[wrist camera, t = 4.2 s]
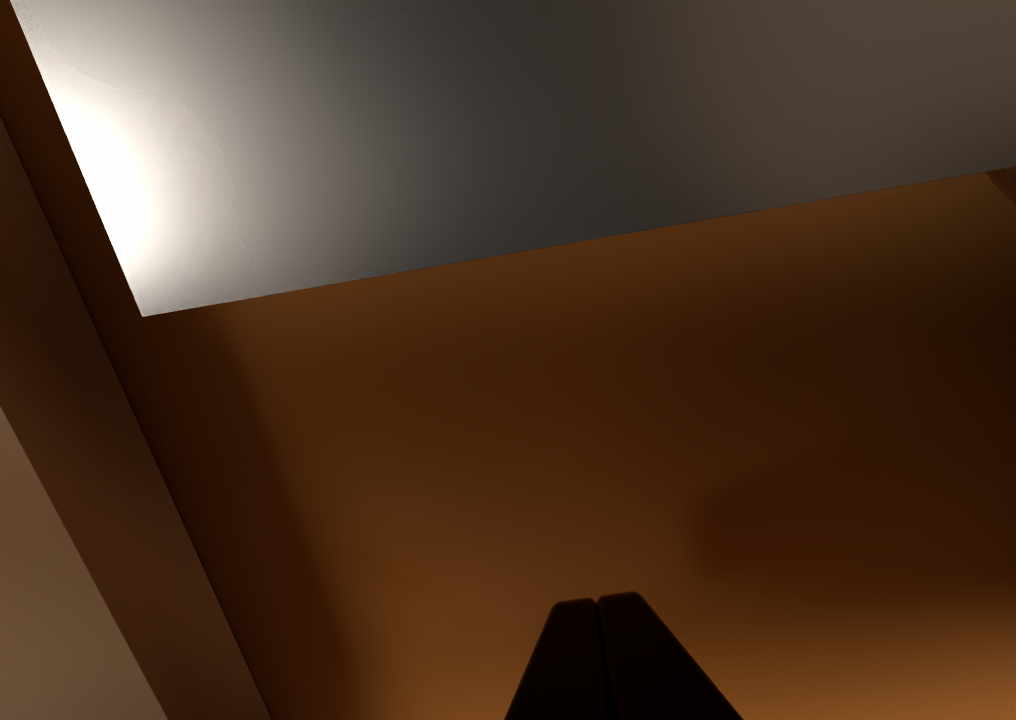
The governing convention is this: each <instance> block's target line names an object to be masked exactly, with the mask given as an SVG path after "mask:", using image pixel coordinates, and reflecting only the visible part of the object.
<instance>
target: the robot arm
mask: <svg viewBox="0 0 1016 720" xmlns="http://www.w3.org/2000/svg"><path fill="white" fill-rule="evenodd" d="M597 608H598V609H597ZM504 720H743V718H742V717H741V716H740V715H739V713H738V712H737V711H736V710H735V709H734V707H733V706H732V705H731V704H730V703H729V701H728V700H727V699H726V698H725V696H724V695H723V694H722V693H721V692H720V690H719V689H718V688H717V687H716V686H715V684H714V683H713V682H712V681H711V679H710V678H709V677H708V676H707V675H706V673H705V672H704V671H703V670H702V668H701V667H700V666H699V665H698V664H697V662H696V661H695V660H694V659H693V658H692V656H691V655H690V654H689V653H688V651H687V650H686V649H685V648H684V647H683V645H682V644H681V643H680V642H679V641H678V639H677V638H676V637H675V636H674V634H673V633H672V632H671V631H670V630H669V628H668V627H667V626H666V625H665V624H664V622H663V621H662V620H661V619H660V617H659V616H658V615H657V614H656V613H655V611H654V610H653V609H652V608H651V607H650V605H649V604H648V603H647V602H646V600H645V599H644V598H643V597H642V596H641V595H640V594H639V593H637V592H634V591H631V592H624V593H617V594H610V595H603V596H601V597H600V598H598V601H597V604H596V602H595V601H594V599H592V598H581V599H574V600H567V601H560V602H557V603H556V604H554V605H553V607H552V609H551V611H550V613H549V615H548V618H547V620H546V622H545V625H544V627H543V629H542V632H541V634H540V636H539V639H538V641H537V643H536V646H535V648H534V650H533V653H532V655H531V657H530V660H529V662H528V665H527V667H526V669H525V672H524V674H523V676H522V679H521V681H520V683H519V686H518V688H517V690H516V693H515V695H514V697H513V700H512V702H511V704H510V707H509V709H508V711H507V714H506V716H505V718H504Z"/></svg>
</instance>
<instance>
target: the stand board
mask: <svg viewBox="0 0 1016 720" xmlns="http://www.w3.org/2000/svg"><path fill="white" fill-rule="evenodd" d="M0 720H271V718H270V715H269V713H268V711H267V709H266V707H265V704H264V702H263V700H262V698H261V695H260V693H259V691H258V689H257V686H256V684H255V682H254V680H253V678H252V675H251V673H250V671H249V669H248V666H247V664H246V662H245V660H244V658H243V655H242V653H241V651H240V649H239V646H238V644H237V642H236V640H235V638H234V635H233V633H232V631H231V629H230V626H229V624H228V622H227V620H226V618H225V615H224V613H223V611H222V609H221V606H220V604H219V602H218V600H217V598H216V595H215V593H214V591H213V589H212V586H211V584H210V582H209V580H208V577H207V575H206V573H205V571H204V569H203V566H202V564H201V562H200V560H199V557H198V555H197V553H196V551H195V549H194V546H193V544H192V542H191V540H190V537H189V535H188V533H187V531H186V529H185V526H184V524H183V522H182V520H181V517H180V515H179V513H178V511H177V509H176V506H175V504H174V502H173V500H172V497H171V495H170V493H169V491H168V488H167V486H166V484H165V482H164V480H163V477H162V475H161V473H160V471H159V468H158V466H157V464H156V462H155V460H154V457H153V455H152V453H151V451H150V448H149V446H148V444H147V442H146V440H145V437H144V435H143V433H142V431H141V428H140V426H139V424H138V422H137V420H136V417H135V415H134V413H133V411H132V408H131V406H130V404H129V402H128V400H127V397H126V395H125V393H124V391H123V388H122V386H121V384H120V382H119V379H118V377H117V375H116V373H115V371H114V368H113V366H112V364H111V362H110V359H109V357H108V355H107V353H106V351H105V348H104V346H103V344H102V342H101V339H100V337H99V335H98V333H97V331H96V328H95V326H94V324H93V322H92V319H91V317H90V315H89V313H88V311H87V308H86V306H85V304H84V302H83V299H82V297H81V295H80V293H79V290H78V288H77V286H76V284H75V282H74V279H73V277H72V275H71V273H70V270H69V268H68V266H67V264H66V262H65V259H64V257H63V255H62V253H61V250H60V248H59V246H58V244H57V242H56V239H55V237H54V235H53V233H52V230H51V228H50V226H49V224H48V222H47V219H46V217H45V215H44V213H43V210H42V208H41V206H40V204H39V202H38V199H37V197H36V195H35V193H34V190H33V188H32V186H31V184H30V181H29V179H28V177H27V175H26V173H25V170H24V168H23V166H22V164H21V161H20V159H19V157H18V155H17V153H16V150H15V148H14V146H13V144H12V141H11V139H10V137H9V135H8V133H7V130H6V128H5V126H4V124H3V121H2V119H1V117H0Z"/></svg>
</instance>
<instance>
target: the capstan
mask: <svg viewBox="0 0 1016 720" xmlns="http://www.w3.org/2000/svg"><path fill="white" fill-rule="evenodd" d="M10 1H11V4H12V6H13V8H14V11H15V13H16V16H17V18H18V20H19V23H20V25H21V27H22V30H23V32H24V35H25V37H26V39H27V42H28V44H29V47H30V49H31V51H32V54H33V56H34V59H35V61H36V63H37V66H38V68H39V71H40V73H41V75H42V78H43V80H44V83H45V85H46V87H47V90H48V92H49V95H50V97H51V99H52V102H53V104H54V107H55V109H56V111H57V114H58V116H59V119H60V121H61V123H62V126H63V128H64V130H65V133H66V135H67V138H68V140H69V142H70V145H71V147H72V150H73V152H74V154H75V157H76V159H77V162H78V164H79V166H80V169H81V171H82V174H83V176H84V178H85V181H86V183H87V186H88V188H89V190H90V193H91V195H92V198H93V200H94V202H95V205H96V207H97V210H98V212H99V214H100V217H101V219H102V222H103V224H104V226H105V229H106V231H107V233H108V236H109V238H110V241H111V243H112V245H113V248H114V250H115V253H116V255H117V257H118V260H119V262H120V265H121V267H122V269H123V272H124V274H125V277H126V279H127V281H128V284H129V286H130V289H131V291H132V293H133V296H134V298H135V301H136V303H137V305H138V308H139V310H140V313H141V315H142V317H144V316H150V315H156V314H162V313H167V312H173V311H179V310H185V309H191V308H196V307H202V306H208V305H214V304H220V303H225V302H231V301H237V300H243V299H249V298H255V297H260V296H266V295H272V294H278V293H284V292H289V291H295V290H301V289H307V288H313V287H318V286H324V285H330V284H336V283H342V282H347V281H353V280H359V279H365V278H371V277H376V276H382V275H388V274H394V273H400V272H405V271H411V270H417V269H423V268H429V267H434V266H440V265H446V264H452V263H458V262H464V261H469V260H475V259H481V258H487V257H493V256H498V255H504V254H510V253H516V252H522V251H527V250H533V249H539V248H545V247H551V246H556V245H562V244H568V243H574V242H580V241H585V240H591V239H597V238H603V237H609V236H614V235H620V234H626V233H632V232H638V231H643V230H649V229H655V228H661V227H667V226H673V225H678V224H684V223H690V222H696V221H702V220H707V219H713V218H719V217H725V216H731V215H736V214H742V213H748V212H754V211H760V210H765V209H771V208H777V207H783V206H789V205H794V204H800V203H806V202H812V201H818V200H823V199H829V198H835V197H841V196H847V195H852V194H858V193H864V192H870V191H876V190H882V189H887V188H893V187H899V186H905V185H911V184H916V183H922V182H928V181H934V180H940V179H945V178H951V177H957V176H963V175H969V174H974V173H980V172H986V173H987V174H988V176H989V177H990V179H991V180H992V182H993V183H994V184H995V185H996V186H997V187H998V188H999V189H1000V190H1001V191H1002V192H1003V193H1004V194H1005V195H1006V196H1007V197H1008V198H1009V199H1010V200H1011V201H1012V202H1013V203H1014V204H1015V205H1016V0H10Z"/></svg>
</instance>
